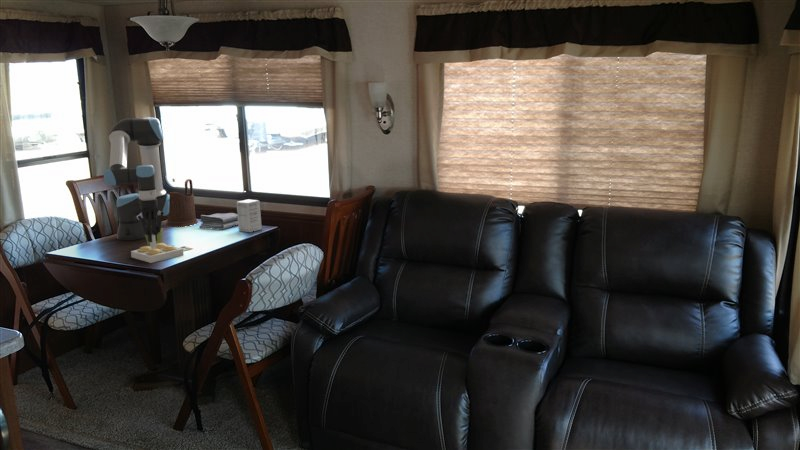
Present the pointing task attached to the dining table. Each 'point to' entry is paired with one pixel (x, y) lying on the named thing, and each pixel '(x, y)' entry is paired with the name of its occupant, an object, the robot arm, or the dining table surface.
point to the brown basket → (181, 208)
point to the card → (185, 248)
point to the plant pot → (157, 237)
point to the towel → (219, 221)
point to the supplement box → (249, 215)
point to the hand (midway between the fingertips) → (153, 248)
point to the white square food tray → (156, 255)
